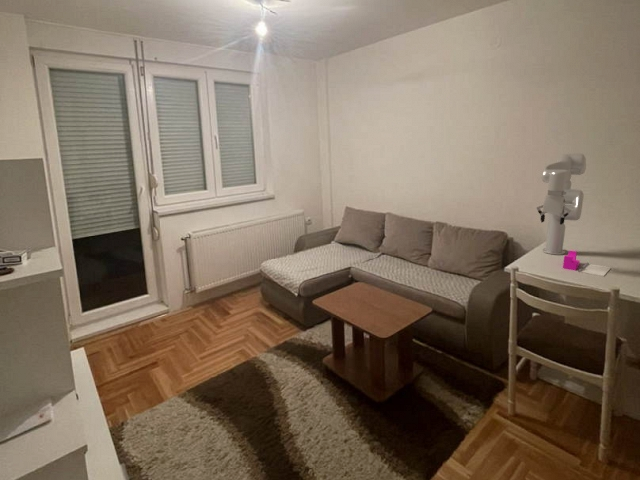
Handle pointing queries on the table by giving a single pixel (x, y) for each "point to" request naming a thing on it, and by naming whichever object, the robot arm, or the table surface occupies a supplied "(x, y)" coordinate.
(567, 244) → the table surface
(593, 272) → the mat
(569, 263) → the toy block
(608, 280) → the table surface
